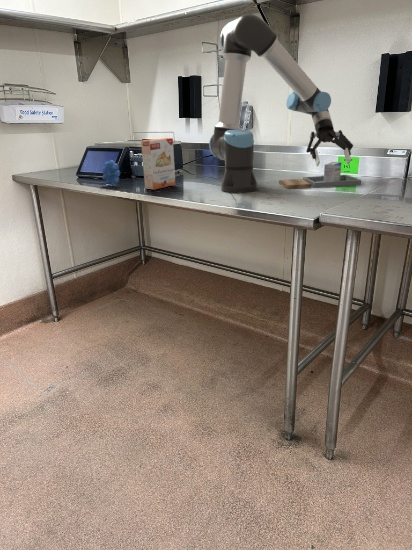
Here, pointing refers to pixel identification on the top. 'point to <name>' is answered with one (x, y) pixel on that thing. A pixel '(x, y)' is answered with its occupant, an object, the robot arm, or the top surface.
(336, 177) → the medicine box
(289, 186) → the walnut board
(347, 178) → the bin
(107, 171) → the grapes
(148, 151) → the cracker box
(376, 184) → the top surface
